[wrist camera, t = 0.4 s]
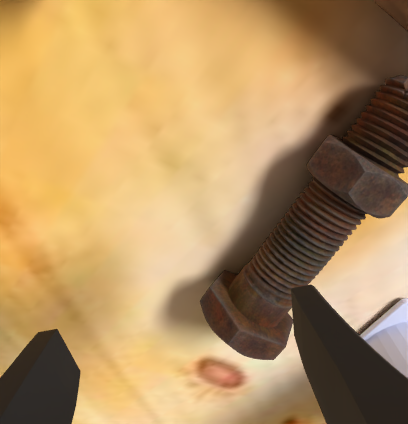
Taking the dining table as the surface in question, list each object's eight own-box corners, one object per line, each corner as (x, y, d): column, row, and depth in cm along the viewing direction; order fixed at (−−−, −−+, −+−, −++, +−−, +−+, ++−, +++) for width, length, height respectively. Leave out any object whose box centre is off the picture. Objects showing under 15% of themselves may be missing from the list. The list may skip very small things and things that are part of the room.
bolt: (389, 84, 19) (239, 284, 25) (348, 42, 16) (183, 286, 22) (498, 137, 16) (294, 357, 22) (476, 100, 12) (239, 373, 18)
